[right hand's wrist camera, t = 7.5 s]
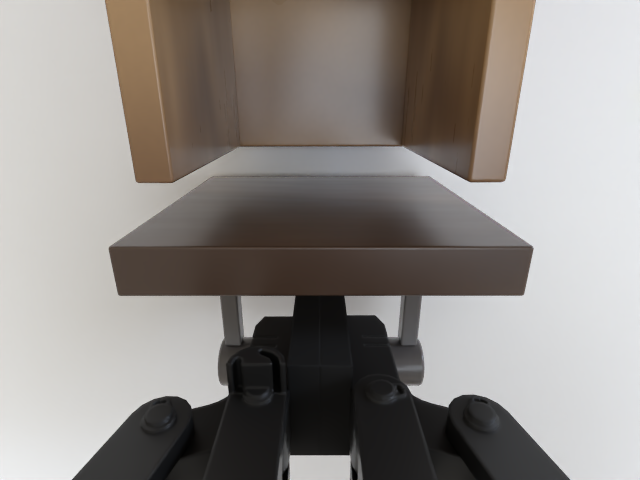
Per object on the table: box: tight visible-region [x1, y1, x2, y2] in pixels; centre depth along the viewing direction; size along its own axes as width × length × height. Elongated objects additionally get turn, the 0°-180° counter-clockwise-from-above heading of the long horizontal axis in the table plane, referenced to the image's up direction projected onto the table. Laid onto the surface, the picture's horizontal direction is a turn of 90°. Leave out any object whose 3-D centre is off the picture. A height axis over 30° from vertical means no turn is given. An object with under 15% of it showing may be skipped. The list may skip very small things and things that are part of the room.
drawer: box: [105, 0, 536, 385], centre depth 10 cm, size 23×9×8 cm, turn 0°
